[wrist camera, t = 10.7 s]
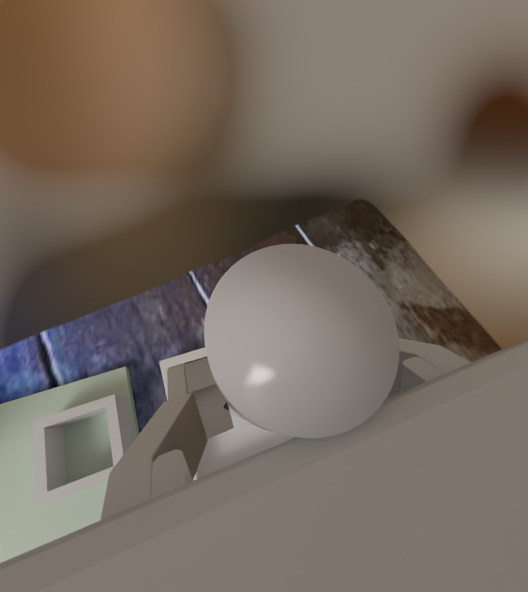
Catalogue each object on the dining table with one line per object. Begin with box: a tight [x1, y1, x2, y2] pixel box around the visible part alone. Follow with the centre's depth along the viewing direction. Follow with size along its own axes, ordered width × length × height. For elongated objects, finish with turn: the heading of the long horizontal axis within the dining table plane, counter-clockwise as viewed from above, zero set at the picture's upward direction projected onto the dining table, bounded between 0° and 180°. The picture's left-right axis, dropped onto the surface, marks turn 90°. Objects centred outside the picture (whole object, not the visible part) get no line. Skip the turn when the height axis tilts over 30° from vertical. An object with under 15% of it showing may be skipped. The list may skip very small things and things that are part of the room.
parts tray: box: [159, 347, 295, 481], centre depth 27 cm, size 12×12×3 cm
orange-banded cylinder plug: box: [204, 244, 399, 438], centre depth 10 cm, size 4×4×11 cm
